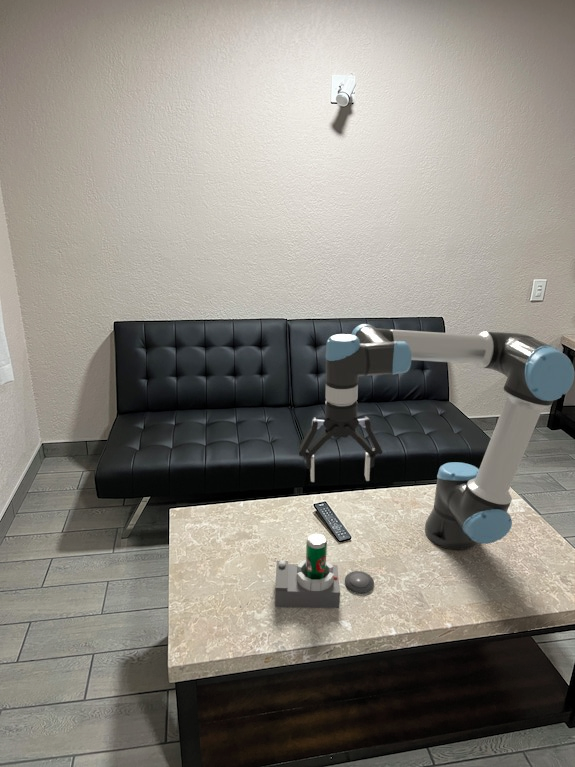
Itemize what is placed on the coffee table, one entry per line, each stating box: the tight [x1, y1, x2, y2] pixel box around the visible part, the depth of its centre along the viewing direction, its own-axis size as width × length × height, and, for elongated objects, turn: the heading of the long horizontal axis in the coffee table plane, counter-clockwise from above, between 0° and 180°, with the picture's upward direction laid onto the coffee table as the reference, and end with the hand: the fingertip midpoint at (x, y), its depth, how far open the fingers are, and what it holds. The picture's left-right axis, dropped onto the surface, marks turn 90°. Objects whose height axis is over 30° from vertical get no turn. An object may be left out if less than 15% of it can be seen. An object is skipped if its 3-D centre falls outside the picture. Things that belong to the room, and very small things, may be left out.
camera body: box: [274, 558, 341, 609], centre depth 137 cm, size 16×10×8 cm, turn 89°
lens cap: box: [344, 570, 375, 595], centre depth 142 cm, size 8×8×1 cm
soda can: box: [305, 533, 328, 580], centre depth 135 cm, size 5×5×12 cm
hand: (339, 478), depth 134 cm, fingers open, 13 cm apart
